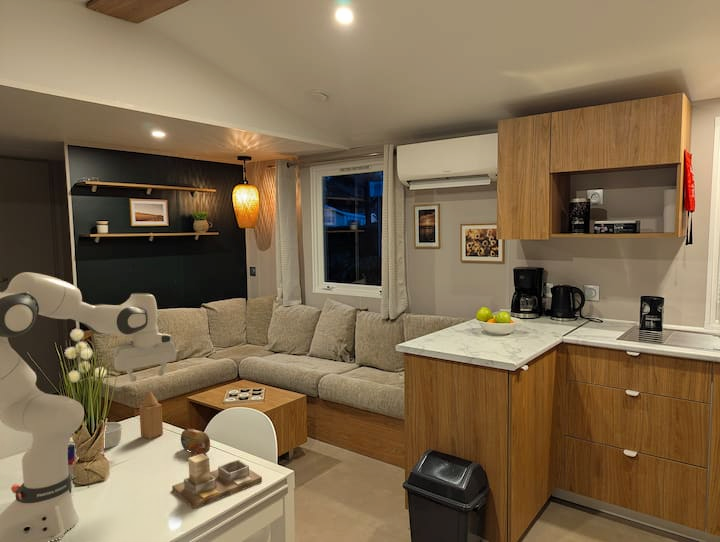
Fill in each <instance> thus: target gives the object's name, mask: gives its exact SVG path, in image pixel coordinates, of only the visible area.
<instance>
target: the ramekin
mask: <svg viewBox="0 0 720 542" xmlns="http://www.w3.org/2000/svg"><path fill="white" fill-rule="evenodd" d="M105 423H106V425H107V427H106V431H105V449H104V450H107V449H110V448H109V447H111V448H113V447H115V446H117V445H118V444H119V443H120V442H121V440H122V430H123V425H122V423H120V422H115V421H113V422H112V421H110V422H105ZM106 448H107V449H106Z"/></svg>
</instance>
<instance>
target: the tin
mask: <svg viewBox="0 0 720 542" xmlns="http://www.w3.org/2000/svg"><path fill="white" fill-rule="evenodd" d="M180 444H181V446H182V448H183V450H185V451H186V450H189V451H191V452H193V453H192V454H194V453H196V454H195V455H197V454H198V455H199V454H202V453H203V454H204V455H205V454H207V453H208V452H209V451H210V449H211V440H210V437H209V435H208V434H207V433H206V432H204V431H201V430H196V429H195V428H189V429H184V430H183V431H181V435H180ZM191 452H190V453H191Z"/></svg>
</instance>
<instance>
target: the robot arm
mask: <svg viewBox="0 0 720 542" xmlns="http://www.w3.org/2000/svg"><path fill="white" fill-rule="evenodd" d="M38 315H40V316H42V317H47V318H51V319H58V320H69V319H70V320H72V321H76V322H79V323H81V324H83V325H84V326H85V327H87V328H88V329H89V331H91V332H92V333H94V334H96V335H107V334H108V335H117V336H118V335H119V336H122V335H123V336H128V335H130V341H125V342H118V343H117V344H116V345H115V346H114V348H113V355H114V363H113V365H114V369H115V370H116V371H118V372H124V371H125V372H126V373H127V375H128V376H129V380H130V382H131V383H133V382H137V375H133V369H134V370H135V369H139V368H144V367H149V366H150V367H151V366H154V365H160V366H161V367H160V369H158V370H157V375H158V377H162V376H163V377H164V376H165V369H166V368H167V363H171V362H174V361H176V359H177V356H178V355H177V348H176V345H175V343H174V341H173V340H174V337H173V335H171V334H169V333H165V332H159V326H158V317H159V316H158V305H157V301H156V298H155V296H154V295H153V294H151V293H143V292H134V293H133V292H132V293H131V294H130V296H129V298H128V299H127V300H126V301H125V302H123V303H121V304H117V305H116V304H115V305H113V304H105V303H98V304H89V303H87V302H84V301H83V296H82V292H81V291H80V288H78V287H77V286H75V285H73V284H71V283H70V282H68V281H64V280H62V279H60V278H58V277H53V276H51V275H46V274H42V273H37V272H29V271H28V272H27V271H26V272H25V271H24V272H20V273H19V274H16V275H15V276H14V277H13V278H11V280H10V282H9V284H8V285H7V288H6V289H5V290H3V291H0V422H1V423H2V424H3V425H4V426H6V427H8V428H10V429H12V430H13V431H14V430H15V431H17V432H22V433H24V432H25V433H27V434H31V435H32V442H31V443H32V444H31V447H30V448H29V449H28V450H27V451H26V452H25V453H24V454H23V455H22V458H21V468H22V479H23V482H22V484H21V485H19V483H18V484H17V483H15V484H13V485H12V486H11V487H10V490H11V491H12V493H13V494H15V495H14V496H15V500H13V502H11V503H10V504H9V505H8V506H7V507H6V508H5V509H4V510H3V511H1V513H0V542H48V541H52V540H56V539H59V538H61V537H62V536H64V535H65V534H66V533H65V532H66V531H67V530H68V531H70V530H71V529H72V528H73V527H74V526H75V525H76V524H77V523H78V521H79V516H78V513H77V512H76V509H75V506H74V502H73V498H72V488H73V487H72V486H73V485H72V480H71V476H70V474H69V472H68V445H69V442H71V438H72V435H73V434H74V432H76V431H77V430H78V429H79V428H80V427H81V425H82V424H83V420H84V417H85V409H84V407H83V405H82V404H81V402H79V401H78V400H76V399H74V398H71V397H69V396H66V395H59V394H50V393H45V392H44V391H41V389H39V388H38V386H37V384H36V383H37V374H36V372H35V371H34V370H33V369H32V368H31V366H29V365H28V363H27V362H26V361H25V360H24V359H23V358H22V357H21V356H20V354H19V353H18V352H16V350H14V348H12V347H11V346H12V345H11V344H10V343H9V339H8V338H14V337H19V336H21V335H25V334H26V333H27V332H28V331H29V330H30V329H31V328H32V327H33V325H34V324H35V321H36V319H37V316H38ZM70 528H71V529H70ZM68 531H67V532H68ZM64 533H65V534H64ZM62 538H63V537H62ZM62 538H61V539H62ZM59 540H60V539H59ZM56 541H57V540H56ZM52 542H53V541H52Z"/></svg>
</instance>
